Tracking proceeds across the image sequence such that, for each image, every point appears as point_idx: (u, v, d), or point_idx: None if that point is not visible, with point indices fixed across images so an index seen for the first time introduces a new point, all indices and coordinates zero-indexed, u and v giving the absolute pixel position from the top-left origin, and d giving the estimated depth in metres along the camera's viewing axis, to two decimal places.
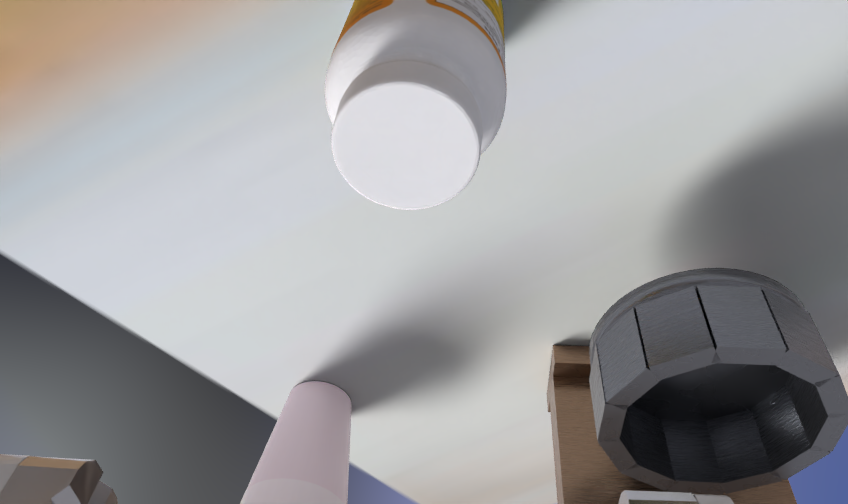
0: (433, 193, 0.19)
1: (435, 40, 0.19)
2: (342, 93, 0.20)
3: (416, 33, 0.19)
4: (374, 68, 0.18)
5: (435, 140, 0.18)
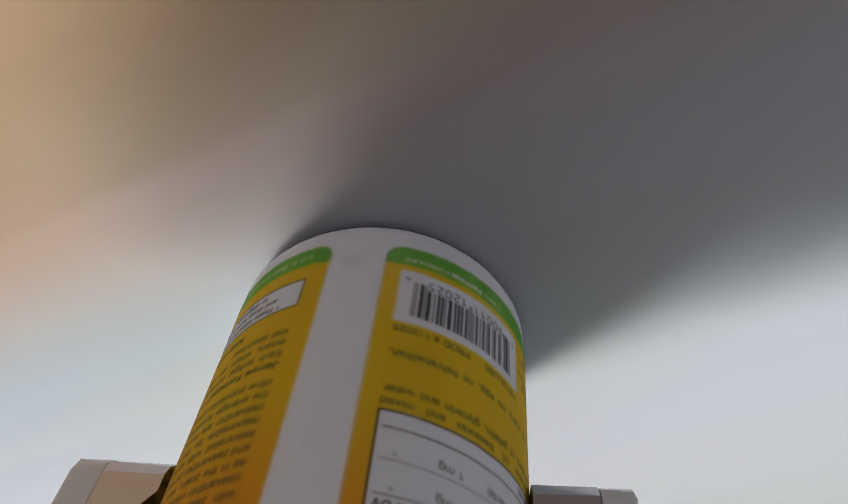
0: None
1: None
2: None
3: None
4: None
5: None
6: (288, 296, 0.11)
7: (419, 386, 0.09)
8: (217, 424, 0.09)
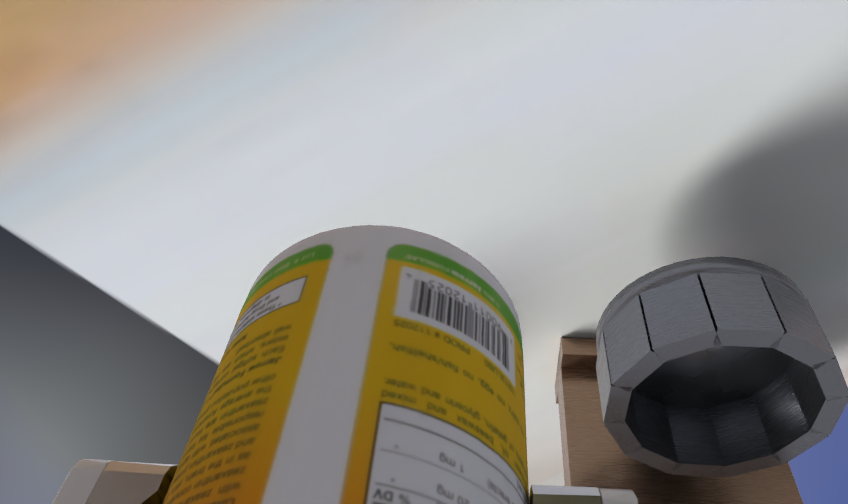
0: None
1: None
2: None
3: None
4: None
5: None
6: (290, 293, 0.11)
7: (420, 381, 0.10)
8: (221, 419, 0.10)
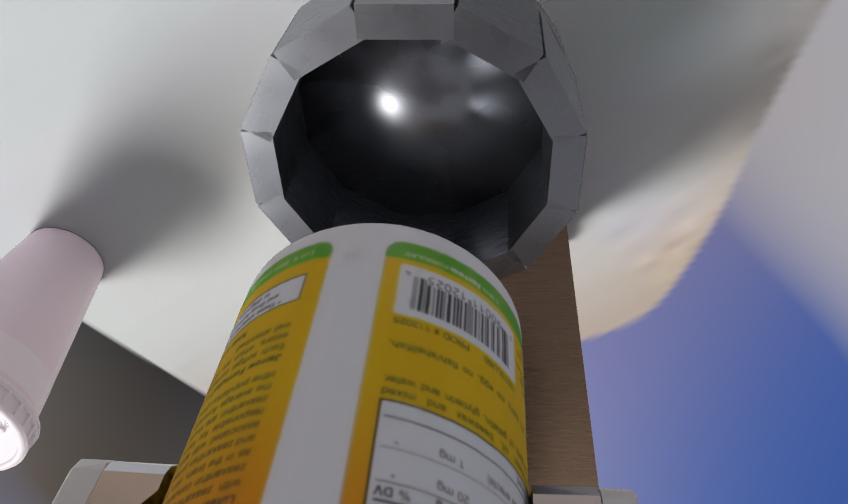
0: None
1: None
2: None
3: None
4: None
5: None
6: (290, 291, 0.11)
7: (420, 377, 0.10)
8: (222, 415, 0.10)
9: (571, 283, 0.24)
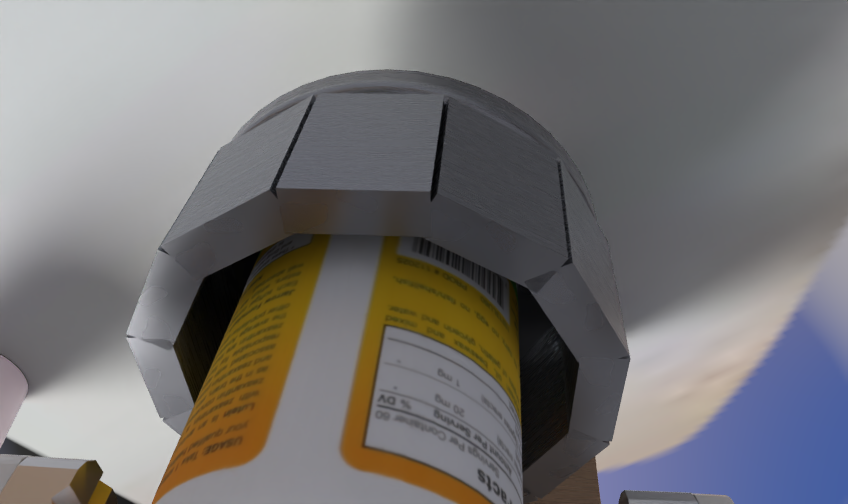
0: None
1: None
2: None
3: None
4: None
5: None
6: (303, 237, 0.12)
7: (421, 309, 0.10)
8: (241, 343, 0.11)
9: (593, 465, 0.19)
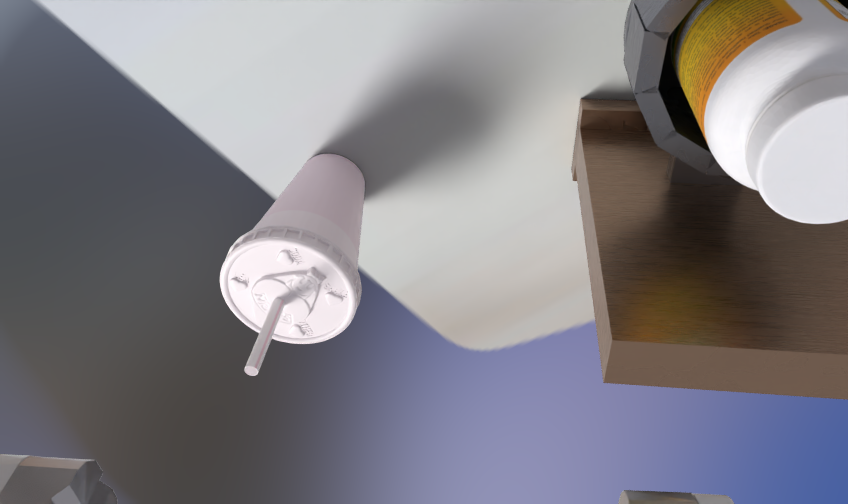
0: None
1: None
2: (745, 107, 0.20)
3: (843, 48, 0.19)
4: (815, 81, 0.18)
5: None
6: None
7: None
8: (740, 10, 0.22)
9: None
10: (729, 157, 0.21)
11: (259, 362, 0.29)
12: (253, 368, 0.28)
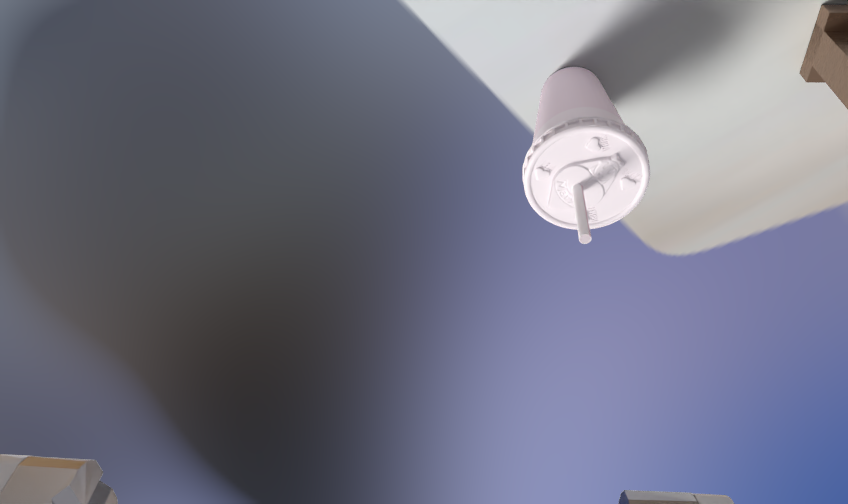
0: None
1: None
2: None
3: None
4: None
5: None
6: None
7: None
8: None
9: None
10: None
11: None
12: (586, 237, 0.32)
